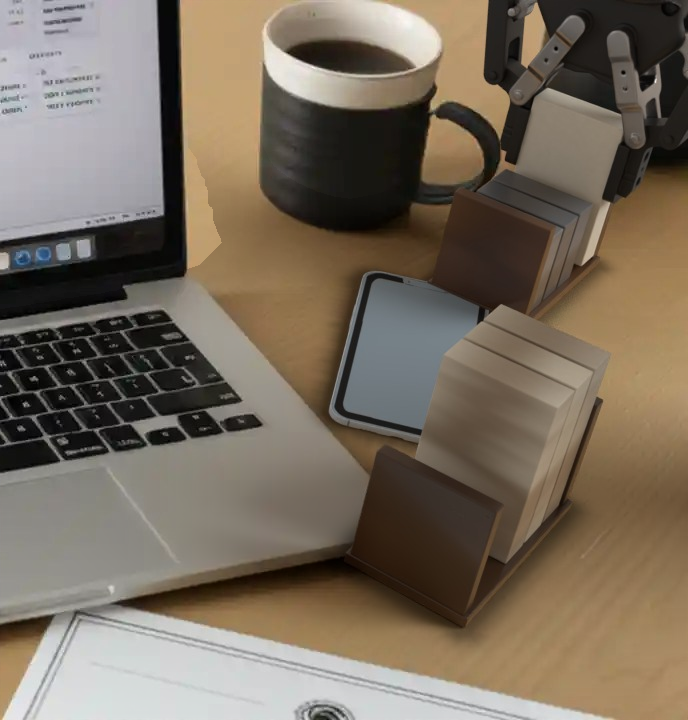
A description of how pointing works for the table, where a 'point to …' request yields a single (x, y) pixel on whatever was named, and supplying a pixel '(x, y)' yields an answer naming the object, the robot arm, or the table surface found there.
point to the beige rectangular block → (572, 154)
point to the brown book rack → (482, 465)
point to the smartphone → (397, 353)
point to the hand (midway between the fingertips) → (564, 177)
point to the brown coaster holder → (514, 245)
